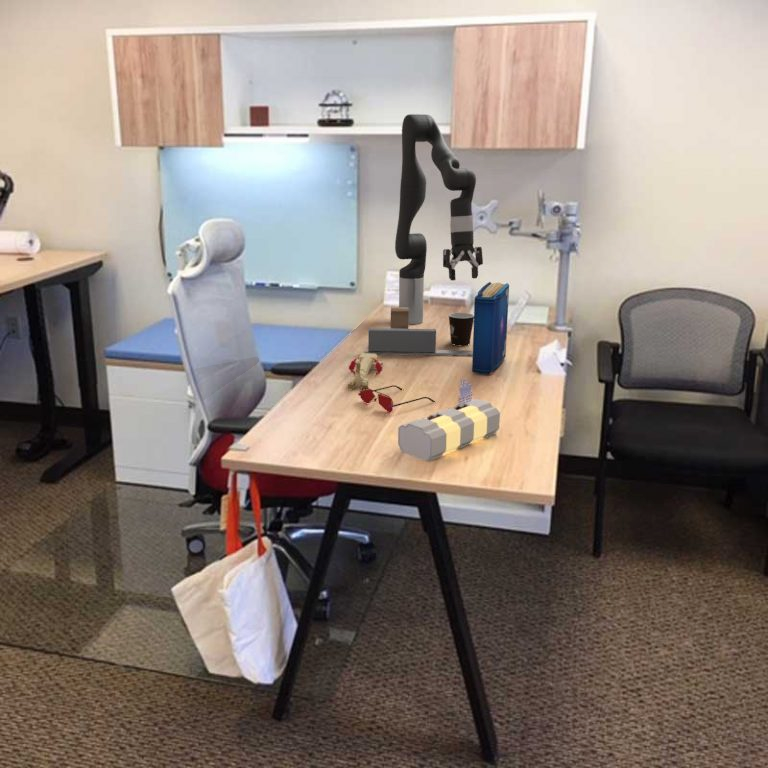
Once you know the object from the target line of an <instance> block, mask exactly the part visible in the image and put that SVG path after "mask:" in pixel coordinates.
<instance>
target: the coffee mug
mask: <svg viewBox="0 0 768 768" xmlns="http://www.w3.org/2000/svg"><path fill="white" fill-rule="evenodd" d="M448 322H449V323H448V324H449V332H450V333H449V334H450V344H451V343H452V344H455V345H467V346H469V345H471V338H472V330H473V327H474V313H473V314H472V313H469V312H453V313H449V314H448ZM452 344H451V345H452ZM468 344H469V345H468ZM455 345H454V346H455Z"/></svg>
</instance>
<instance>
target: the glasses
mask: <svg viewBox="0 0 768 768" xmlns="http://www.w3.org/2000/svg"><path fill="white" fill-rule="evenodd" d="M394 387H395V388H397V389H398V390H400V391H401V390H402V389H403V388H401V387H400V386H397V385H395V384H394V385H389V386H384V387H381V388H376V389H372V388H369V387H368V388H367V389H366V390H363V388H362V389H360V390H359V393H357V396H358V397H360V399H361V400H362V401H363V403H364V402H366V403H369V404H370V403H371V402H372V403H373V402H376V401H377V399H378V405H380V406H381V407H382V408H383V409H384V410H385V411H386V410H387V411H389V412H391V413H392V412H393V407H398V406H401V405H404V404H409V403H412V402H416V401H419V400H423V399H427V400H429V401H430V402H432V403H434V402H435V400H434V399H432V398H430V397H428V396H423V397H419V398H416V399H411V400H408V401H405V402H400V403H397V404H394V401H393V399H392V397H390V396H389V395H387V394H384V393H382V392H380V391H381V390H386V389H388V388H394ZM364 388H366V387H364ZM374 392H375V393H378V394H377V398H376V395H375V393H374ZM366 403H365V404H366ZM435 403H436V402H435ZM387 411H386V412H387Z"/></svg>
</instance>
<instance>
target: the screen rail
mask: <svg viewBox="0 0 768 768" xmlns="http://www.w3.org/2000/svg"><path fill="white" fill-rule="evenodd" d="M364 353H370V354H376V355H377V356H378V355H379V356H380V355H384V356H385V355H386V356H387V355H388V356H390V355H391V356H436V355H471V356H470V357H473V349H472V350H471V349H470V350H467V349H466V350H465V349H463V350H462V349H461V350H460V349H449V350H448V349H436V352H394V351H368V348H366V349H365V352H364Z"/></svg>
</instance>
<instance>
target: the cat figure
mask: <svg viewBox="0 0 768 768" xmlns="http://www.w3.org/2000/svg"><path fill="white" fill-rule="evenodd" d="M357 359H359V360H357ZM383 366H384V362H383V361H381V360H380V361H378V355H376V354H370V353H365V352H363V353H361V354H360V356H359V357H357V358H356V357H355V358H354V359H353V360H351V361H350V364H349V366H348V370H349V371H350V373H352V374H353V375H354V377H351V378H350V379H349V383H348V384H347V389H349V390H350V389H353V390H354V389H356V387H359V389H360V390H362V388H363V390H362V391H364V390H368V389H367V388H369V379H368V378H367V376H368V373H369V371H370V370H376V372H375V376H376V375H377V376H378V375H380V374H381V372H382V371H383ZM355 369H356V370H355ZM364 387H366V388H364Z"/></svg>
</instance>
